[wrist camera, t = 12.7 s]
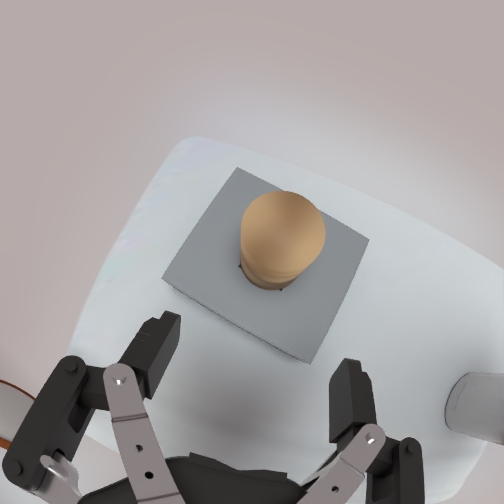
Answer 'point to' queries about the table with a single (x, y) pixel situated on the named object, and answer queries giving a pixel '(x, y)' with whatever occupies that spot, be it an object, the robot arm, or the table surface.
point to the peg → (279, 239)
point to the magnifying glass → (12, 411)
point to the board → (254, 298)
